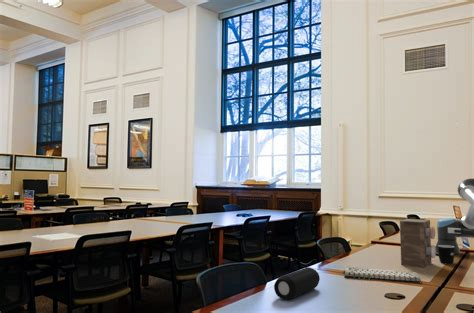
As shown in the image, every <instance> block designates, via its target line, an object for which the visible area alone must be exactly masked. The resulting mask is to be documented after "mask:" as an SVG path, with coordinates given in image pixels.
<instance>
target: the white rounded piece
mask: <svg viewBox="0 0 474 313" xmlns="http://www.w3.org/2000/svg"><path fill="white" fill-rule="evenodd" d="M435 247H436V245H433V244H431V247H426V250H427V255H431V259H436V254H437V252H436V248H435Z"/></svg>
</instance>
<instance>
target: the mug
mask: <svg viewBox="0 0 474 313" xmlns="http://www.w3.org/2000/svg"><path fill="white" fill-rule="evenodd" d="M454 252H455V248H454V246H449V245H438V253H437V254H438V259H439V262H440V263H441V264H443V265H444V264H445V265H453V263H454V260H455V254H454Z"/></svg>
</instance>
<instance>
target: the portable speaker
mask: <svg viewBox="0 0 474 313" xmlns="http://www.w3.org/2000/svg"><path fill="white" fill-rule="evenodd" d="M320 277H321V276H320V275H319V272H318V271H317V270H316V269H314V268H312V267H304V268H301V269H298V270H295V271H292V272H290V273H286V274H284V275H280V276H279V277H278V278H277V279H276V281H275V282H274V284H273V289H274V292H275V294H276V297H278V298H279V299H282V300H285V301H286V300H287V301H288V300H291V299H293V298H296V297H298V296H301V295H302V294H304V293H307V292H309V291H312V290H314V289H316V288H317V287H318V286H319V283H320V280H321V278H320Z"/></svg>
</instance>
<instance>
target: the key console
mask: <svg viewBox="0 0 474 313" xmlns="http://www.w3.org/2000/svg"><path fill="white" fill-rule="evenodd" d="M426 228H431V219H416V218H405V219H402V220H399V232H400V233H399V234H400V237H399V238H400V242H399V243H400V263H401V266H406V267H414V268H420V269H421V268H422V269H425V268H427V267H429V266H430V265H432V257H431V255H427V250H426V247H431V246H432V244H431V243H432V239H431V237H429V236H426Z"/></svg>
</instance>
